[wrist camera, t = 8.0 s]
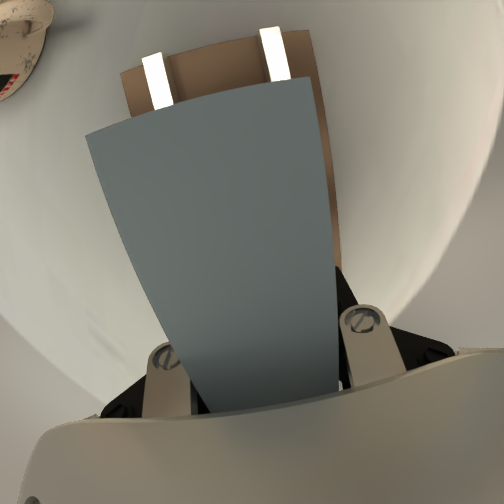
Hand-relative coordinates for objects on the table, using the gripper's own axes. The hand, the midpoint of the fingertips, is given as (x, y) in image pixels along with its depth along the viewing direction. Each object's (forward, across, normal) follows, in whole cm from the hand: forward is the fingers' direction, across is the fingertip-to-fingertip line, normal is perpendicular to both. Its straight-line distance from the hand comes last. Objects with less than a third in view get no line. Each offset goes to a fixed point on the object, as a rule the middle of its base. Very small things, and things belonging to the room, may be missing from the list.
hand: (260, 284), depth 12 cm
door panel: (+1, 0, 0) cm, 1 cm away
